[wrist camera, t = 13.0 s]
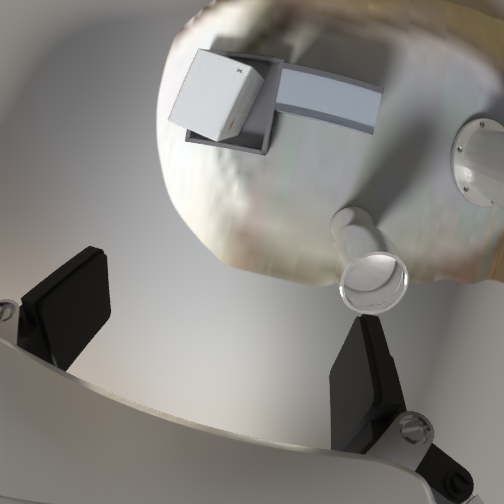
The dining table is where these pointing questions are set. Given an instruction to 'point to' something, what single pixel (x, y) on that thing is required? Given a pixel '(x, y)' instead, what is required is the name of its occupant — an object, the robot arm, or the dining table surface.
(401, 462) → the robot arm
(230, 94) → the small box
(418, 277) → the dining table surface
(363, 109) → the grey rectangular block
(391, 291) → the beer glass
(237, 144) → the tray
